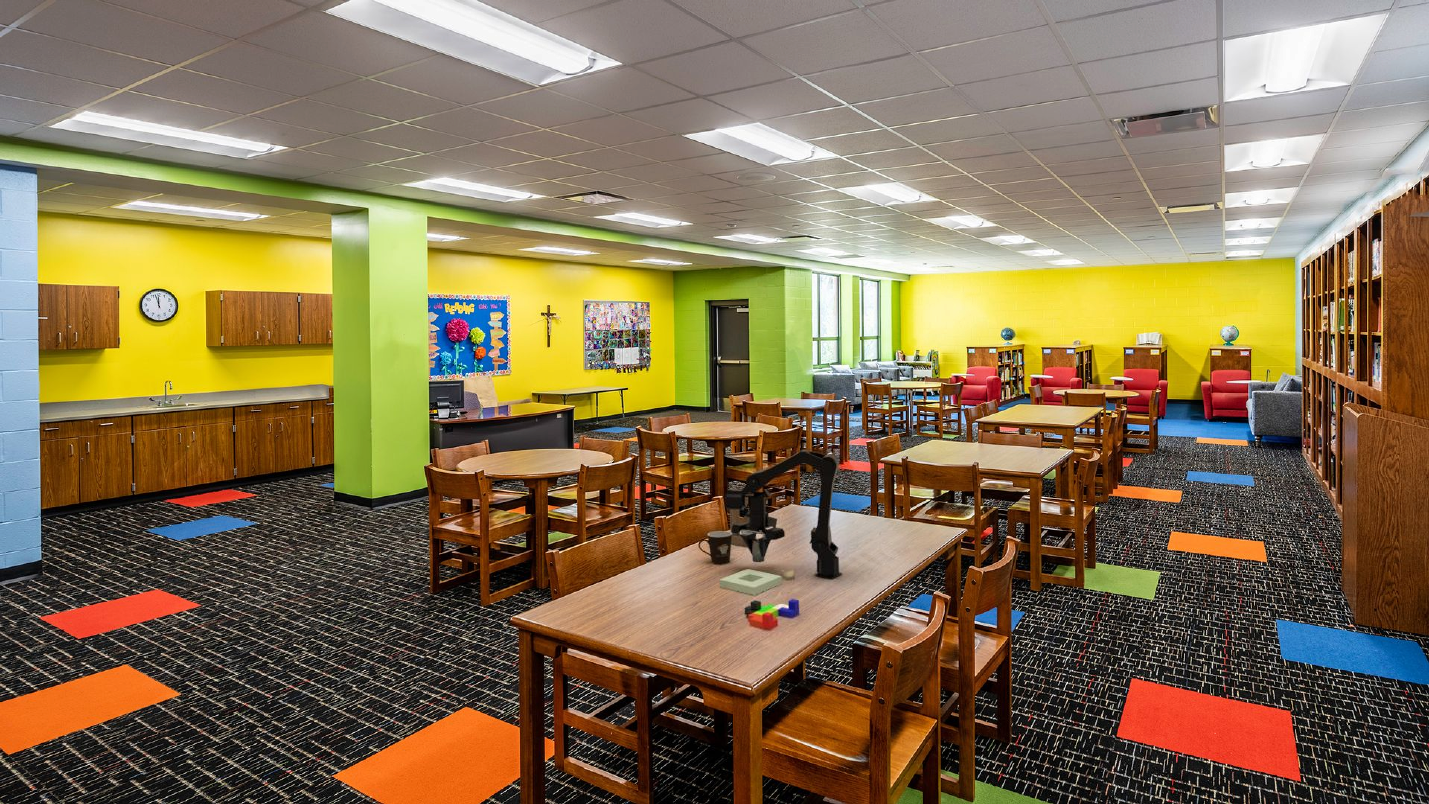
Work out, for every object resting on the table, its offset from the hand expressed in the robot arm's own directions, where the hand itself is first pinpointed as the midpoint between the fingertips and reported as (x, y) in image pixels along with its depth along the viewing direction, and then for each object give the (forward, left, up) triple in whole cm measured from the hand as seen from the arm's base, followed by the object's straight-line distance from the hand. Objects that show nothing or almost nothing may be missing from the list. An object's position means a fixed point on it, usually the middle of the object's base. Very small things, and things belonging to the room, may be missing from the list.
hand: (758, 556), depth 261 cm
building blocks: (-28, +33, -6) cm, 44 cm away
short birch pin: (-12, 0, -6) cm, 13 cm away
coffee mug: (+20, -1, -6) cm, 21 cm away
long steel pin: (0, 0, -2) cm, 2 cm away
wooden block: (+27, -24, -6) cm, 36 cm away
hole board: (-7, +13, -6) cm, 16 cm away
